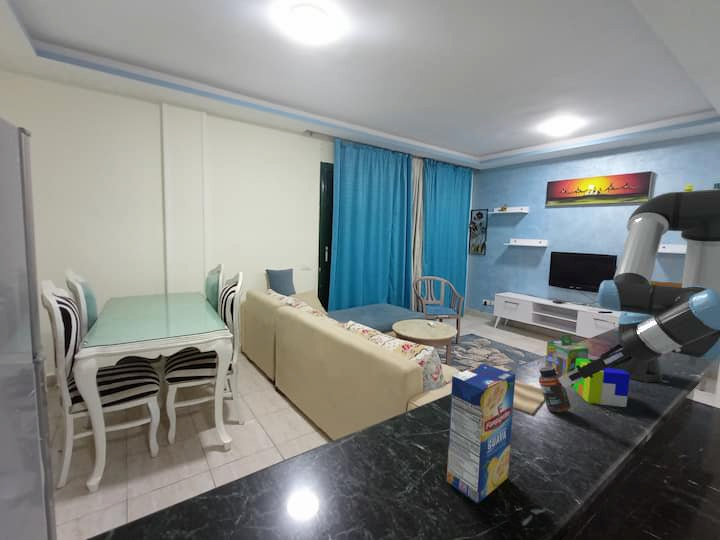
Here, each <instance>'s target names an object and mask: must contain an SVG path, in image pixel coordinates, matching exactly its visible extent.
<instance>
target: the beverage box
mask: <svg viewBox="0 0 720 540" xmlns="http://www.w3.org/2000/svg"><path fill="white" fill-rule="evenodd" d="M515 380H516V374H515V373H513V372H510V371H507V370H503V369H500V368H497V367H495V366H493V365H490V364H488V363H487V364H486V363H481V364H479V365H476V366H473V367H472V368H471V367H470V368H469V369H467V370H464V371H462V372H459V373H457V374H455V375H452V377H451V393H450V413H449V414H450V415H449V434H448V435H449V436H448V449H447V451H448V453H447V454H448V455H447V469H446V471H447V473H446V482H447V483H448V484H450V485H451V486H452V487H454V488H455V489H456V490H458V491H459V492H460V493H462V494H463V495H465V496H466V497H467V498H469V499H470V500H471V501H473V502H474V503H475V504H477V505H478V504H480V502H482V501H483V500H484V499H485V498H486V497H487V496H488V495H490V494H491V493H492V492H493V491H494V490H496V489H497V488H498V487H499V486H500V485H501V484H502V483H504V482H505V481H506V480H507V479H508V477H509V464H510V453H511V440H512V426H513V411H514V409H513V401H514V388H515Z"/></svg>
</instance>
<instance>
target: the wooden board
mask: <svg viewBox="0 0 720 540" xmlns="http://www.w3.org/2000/svg"><path fill="white" fill-rule="evenodd" d="M544 402H545V399H544V396H543V393H542V389H541V387H538V386H535V385H531V384H528V383H525V382H523V381H518V380H516V379H515V388H514V401H513V410H515V411H519V412H521V413H524V414H527V415H528V416H529V415H530V416H533V415H534V413H535V412H537V410H538V409H539V407H540V406H541V405H542V404H543V403H544Z"/></svg>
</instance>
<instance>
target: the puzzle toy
mask: <svg viewBox="0 0 720 540" xmlns="http://www.w3.org/2000/svg"><path fill="white" fill-rule="evenodd" d="M595 360H596V359H590V358H588V359H579V358H576V365H575V369H577V368H576V366H578V365H579V366H580V367H583V365H587V364H588V363H591V362H593V361H595ZM593 376H594V377H592V378H590V377H589V376H588V378H584V379H582V380H580V381H578V382H576V383H574V384H572V385H573V386H572V388H573V387H574V388H575V389H576V390H575V389H574V388H573V389H574V390H575V391H576V392H577V393H578V394H579V396H580V397H582V398H583V400H584V401H587V402H588V403H587V402H586V403H587V404H593V403H595V405H596V404H597V405H603V406H604V405H605V406H613V407H623V408H626V407H627V403H628V393H629V387H630V374H629V373H627V372H626V371H624V370H623V369H622V368H620V367H619V366H614V367H612V368H610V367H608V368H606V369H604V370H602V371H599V372H597V373H595V374H593Z"/></svg>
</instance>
